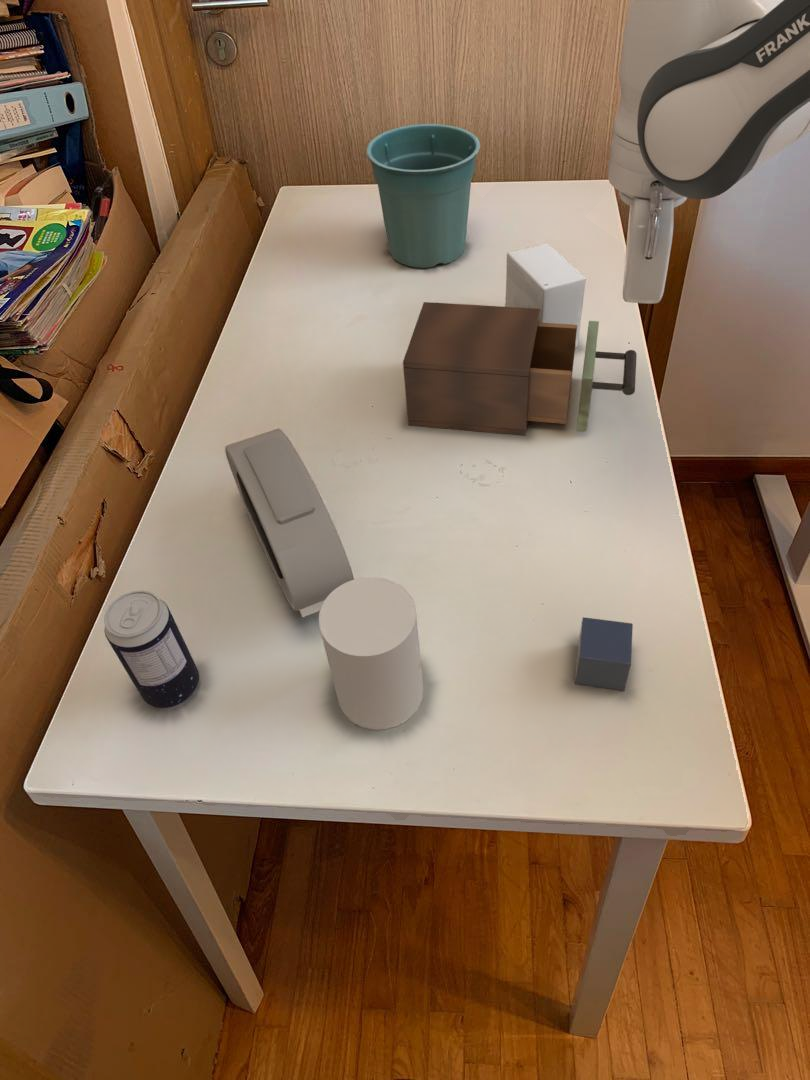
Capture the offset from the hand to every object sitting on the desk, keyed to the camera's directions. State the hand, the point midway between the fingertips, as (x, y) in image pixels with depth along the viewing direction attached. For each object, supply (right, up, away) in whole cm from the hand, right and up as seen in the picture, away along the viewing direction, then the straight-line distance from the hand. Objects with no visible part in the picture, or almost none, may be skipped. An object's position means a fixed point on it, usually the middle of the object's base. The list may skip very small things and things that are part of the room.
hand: (637, 293), depth 86 cm
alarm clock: (-36, -28, +4) cm, 46 cm away
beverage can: (-47, -40, -7) cm, 62 cm away
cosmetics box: (-6, +2, +28) cm, 28 cm away
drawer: (-6, -8, +17) cm, 19 cm away
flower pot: (-21, +20, +45) cm, 53 cm away
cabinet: (-16, -8, +19) cm, 26 cm away
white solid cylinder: (-27, -40, -8) cm, 49 cm away
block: (-6, -38, -9) cm, 39 cm away
